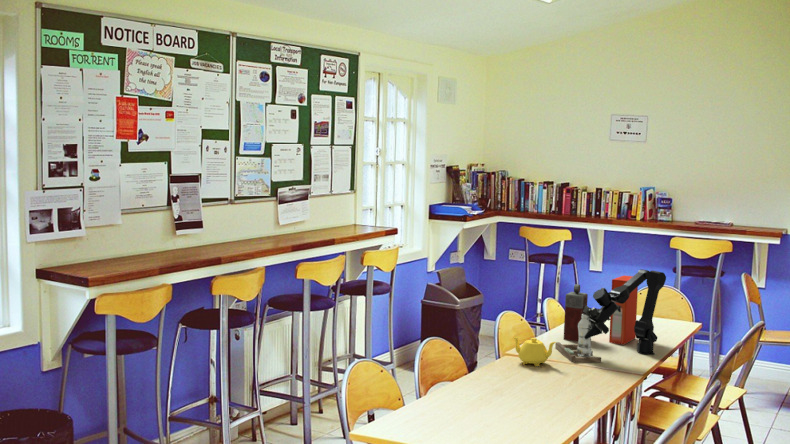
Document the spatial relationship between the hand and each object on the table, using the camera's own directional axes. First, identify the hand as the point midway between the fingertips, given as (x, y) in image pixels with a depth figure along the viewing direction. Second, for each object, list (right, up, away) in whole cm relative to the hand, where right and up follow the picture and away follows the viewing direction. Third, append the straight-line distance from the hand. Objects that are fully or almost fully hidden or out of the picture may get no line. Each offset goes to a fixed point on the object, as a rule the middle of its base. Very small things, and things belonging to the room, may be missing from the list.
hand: (582, 336), depth 356 cm
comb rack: (0, -10, +7) cm, 12 cm away
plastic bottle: (+1, -10, +1) cm, 10 cm away
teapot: (-24, -11, -9) cm, 28 cm away
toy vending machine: (+6, -7, +38) cm, 39 cm away
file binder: (+30, -8, +38) cm, 49 cm away
